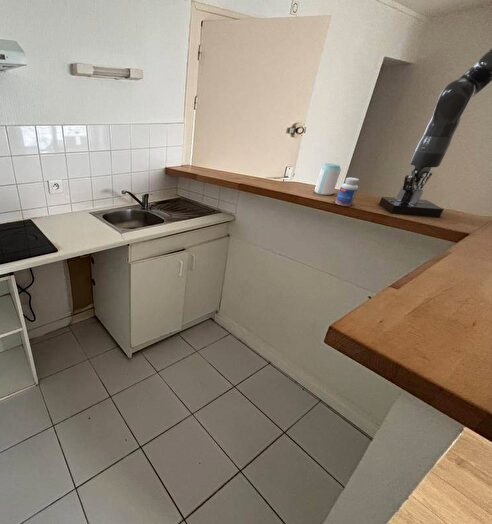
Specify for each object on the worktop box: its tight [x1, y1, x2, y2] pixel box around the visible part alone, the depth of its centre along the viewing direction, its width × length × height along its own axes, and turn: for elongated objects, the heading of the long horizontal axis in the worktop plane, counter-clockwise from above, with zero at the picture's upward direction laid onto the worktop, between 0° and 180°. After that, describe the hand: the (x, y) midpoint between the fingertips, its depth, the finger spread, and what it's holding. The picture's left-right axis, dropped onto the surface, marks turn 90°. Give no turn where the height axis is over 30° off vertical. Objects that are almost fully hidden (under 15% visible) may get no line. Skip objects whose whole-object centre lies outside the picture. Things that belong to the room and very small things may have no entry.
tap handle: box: [395, 185, 425, 205], centre depth 100 cm, size 6×2×5 cm, turn 28°
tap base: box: [378, 196, 445, 219], centre depth 102 cm, size 14×11×3 cm
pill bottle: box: [334, 177, 360, 207], centre depth 107 cm, size 6×5×10 cm
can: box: [314, 163, 342, 196], centre depth 119 cm, size 7×7×12 cm
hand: (406, 201), depth 101 cm, fingers closed on tap handle, 2 cm apart
